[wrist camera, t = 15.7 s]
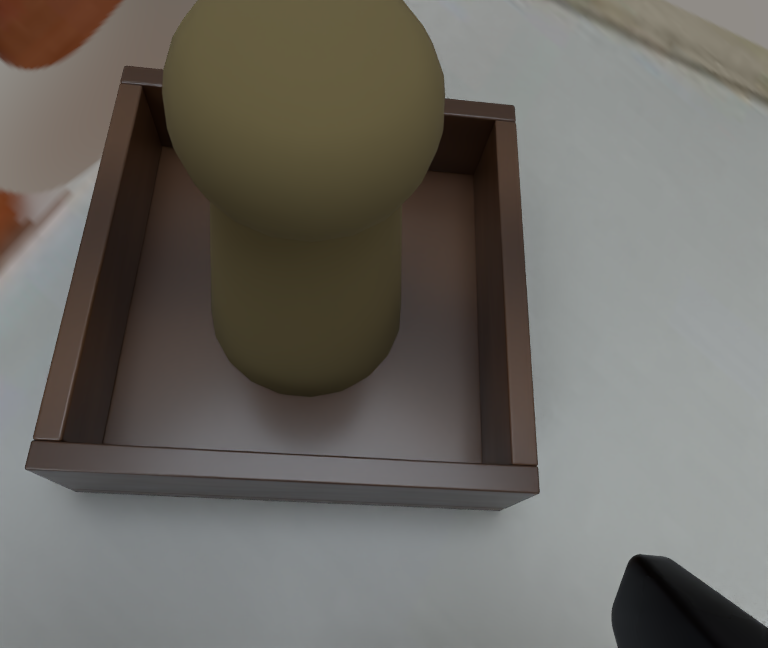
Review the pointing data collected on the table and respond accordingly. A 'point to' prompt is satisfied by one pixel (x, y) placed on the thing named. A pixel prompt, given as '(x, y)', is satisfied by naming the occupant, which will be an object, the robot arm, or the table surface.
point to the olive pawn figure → (304, 175)
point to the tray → (280, 411)
